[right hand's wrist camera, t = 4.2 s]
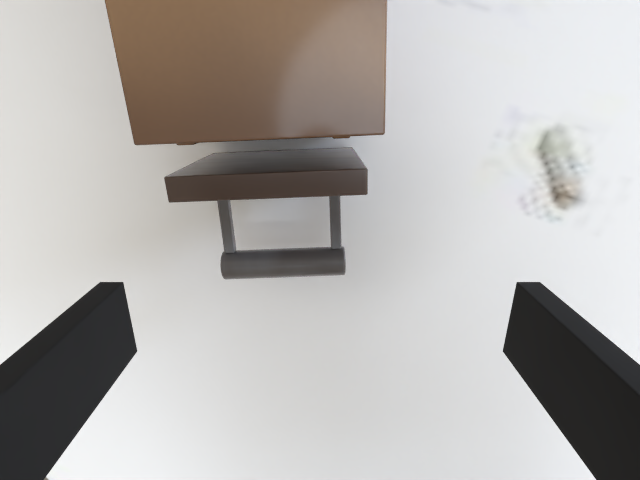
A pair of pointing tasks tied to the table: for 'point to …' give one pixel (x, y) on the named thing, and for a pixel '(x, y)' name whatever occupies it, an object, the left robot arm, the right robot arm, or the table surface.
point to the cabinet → (250, 68)
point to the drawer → (273, 182)
